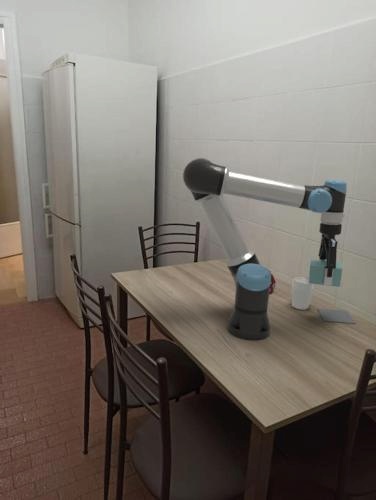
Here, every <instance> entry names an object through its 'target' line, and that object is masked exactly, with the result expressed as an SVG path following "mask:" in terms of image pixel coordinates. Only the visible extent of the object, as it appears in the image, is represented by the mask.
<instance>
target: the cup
mask: <svg viewBox="0 0 376 500" xmlns="http://www.w3.org/2000/svg"><path fill="white" fill-rule="evenodd" d="M314 289H315V284H311V283H309V277H306V276H296V277H295V276H294V277H293V278H292V282H291V307H293V308H294V309H297V310H308V309H309V305H310V302H311V299H312V296H313V292H314Z"/></svg>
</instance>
